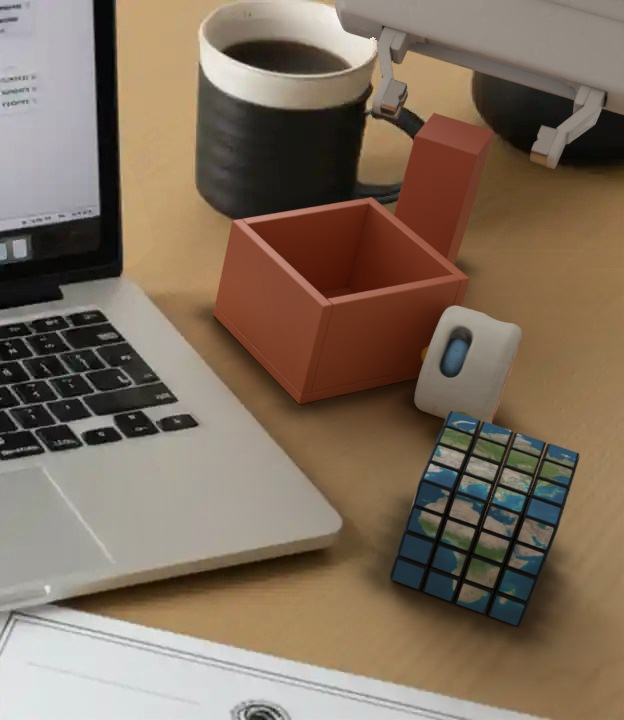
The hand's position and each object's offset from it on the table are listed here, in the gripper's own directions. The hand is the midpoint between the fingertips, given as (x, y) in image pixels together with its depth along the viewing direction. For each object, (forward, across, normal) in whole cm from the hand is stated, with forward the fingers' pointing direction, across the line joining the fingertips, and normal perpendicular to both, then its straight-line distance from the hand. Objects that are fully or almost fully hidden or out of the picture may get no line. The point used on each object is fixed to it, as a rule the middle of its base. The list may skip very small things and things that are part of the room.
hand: (461, 137), depth 96 cm
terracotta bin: (+15, -2, -4) cm, 16 cm away
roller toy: (+17, +6, -6) cm, 19 cm away
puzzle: (+25, +10, -14) cm, 30 cm away
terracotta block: (+7, 0, +3) cm, 8 cm away
